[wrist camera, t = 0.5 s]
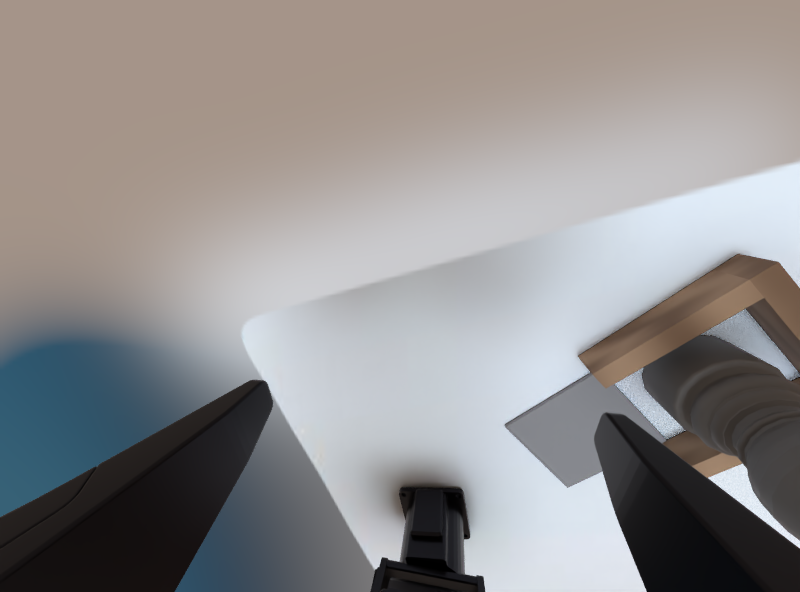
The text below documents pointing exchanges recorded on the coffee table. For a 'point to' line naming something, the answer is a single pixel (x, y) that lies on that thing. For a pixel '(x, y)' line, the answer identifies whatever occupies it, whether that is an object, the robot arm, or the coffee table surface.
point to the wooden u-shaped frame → (693, 315)
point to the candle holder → (737, 415)
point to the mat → (573, 428)
